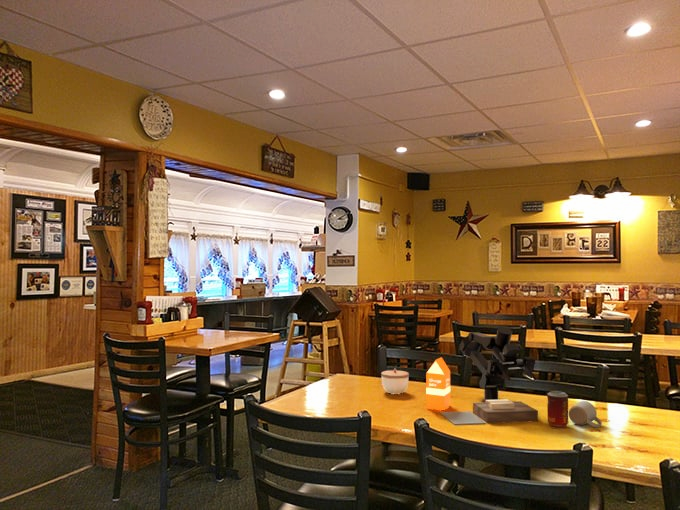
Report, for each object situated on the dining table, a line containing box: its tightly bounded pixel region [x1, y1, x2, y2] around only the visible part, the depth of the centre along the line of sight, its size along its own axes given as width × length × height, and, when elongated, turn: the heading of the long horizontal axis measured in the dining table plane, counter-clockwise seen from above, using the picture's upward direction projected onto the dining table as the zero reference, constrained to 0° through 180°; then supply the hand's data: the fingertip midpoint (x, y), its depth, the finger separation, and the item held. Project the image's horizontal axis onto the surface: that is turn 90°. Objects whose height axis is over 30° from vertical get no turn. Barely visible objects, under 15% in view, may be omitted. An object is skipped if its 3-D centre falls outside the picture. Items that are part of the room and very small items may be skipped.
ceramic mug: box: [568, 400, 603, 428], centre depth 199 cm, size 11×8×8 cm
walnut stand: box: [472, 400, 539, 424], centre depth 208 cm, size 14×20×4 cm
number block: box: [485, 398, 514, 409], centre depth 207 cm, size 6×9×2 cm, turn 97°
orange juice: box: [425, 357, 451, 411], centre depth 222 cm, size 8×9×20 cm
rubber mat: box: [440, 410, 487, 426], centre depth 205 cm, size 16×12×1 cm
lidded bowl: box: [380, 368, 410, 395], centre depth 247 cm, size 13×13×11 cm
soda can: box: [546, 390, 569, 430], centre depth 196 cm, size 7×7×12 cm
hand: (521, 378), depth 206 cm, fingers open, 9 cm apart
